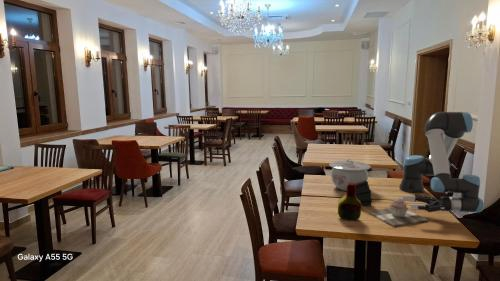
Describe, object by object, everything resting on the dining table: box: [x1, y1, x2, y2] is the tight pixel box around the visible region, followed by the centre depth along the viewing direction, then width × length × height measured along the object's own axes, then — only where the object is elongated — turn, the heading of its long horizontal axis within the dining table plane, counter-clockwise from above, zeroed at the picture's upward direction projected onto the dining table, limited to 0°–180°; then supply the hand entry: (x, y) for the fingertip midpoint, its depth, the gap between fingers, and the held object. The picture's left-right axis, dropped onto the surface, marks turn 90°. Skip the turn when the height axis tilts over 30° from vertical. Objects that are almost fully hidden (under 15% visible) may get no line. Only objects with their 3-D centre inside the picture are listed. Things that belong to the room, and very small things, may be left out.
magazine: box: [355, 180, 373, 207], centre depth 196 cm, size 4×13×15 cm, turn 67°
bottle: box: [337, 183, 363, 221], centre depth 174 cm, size 12×6×20 cm, turn 67°
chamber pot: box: [329, 159, 372, 192], centre depth 226 cm, size 28×28×21 cm
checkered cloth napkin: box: [367, 207, 429, 228], centre depth 177 cm, size 22×20×1 cm
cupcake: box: [389, 197, 409, 217], centre depth 176 cm, size 9×9×10 cm
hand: (406, 202), depth 175 cm, fingers open, 13 cm apart
